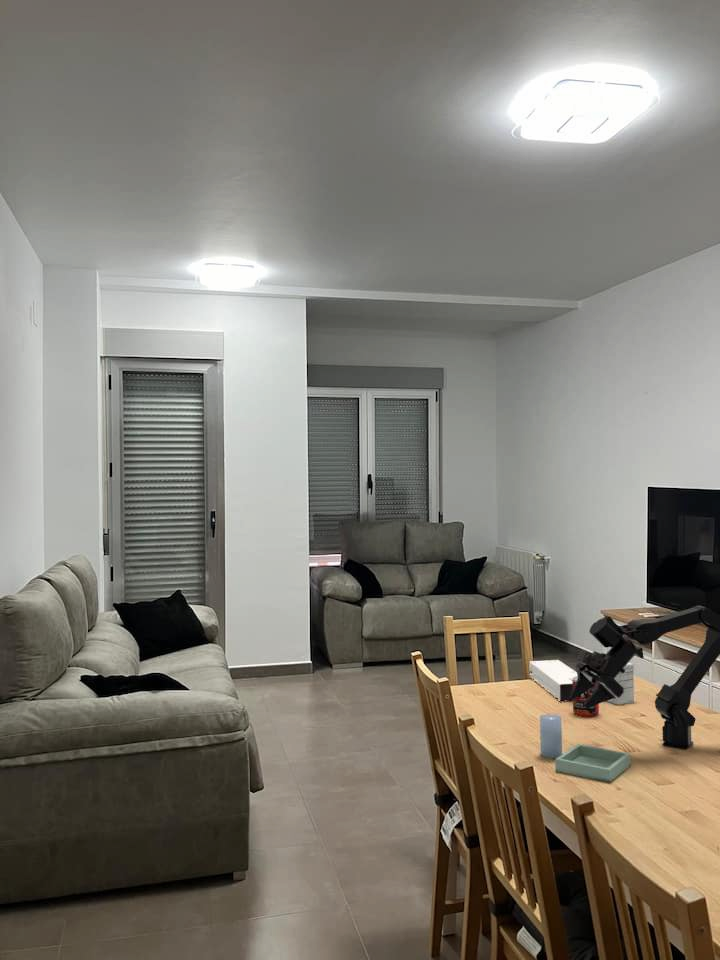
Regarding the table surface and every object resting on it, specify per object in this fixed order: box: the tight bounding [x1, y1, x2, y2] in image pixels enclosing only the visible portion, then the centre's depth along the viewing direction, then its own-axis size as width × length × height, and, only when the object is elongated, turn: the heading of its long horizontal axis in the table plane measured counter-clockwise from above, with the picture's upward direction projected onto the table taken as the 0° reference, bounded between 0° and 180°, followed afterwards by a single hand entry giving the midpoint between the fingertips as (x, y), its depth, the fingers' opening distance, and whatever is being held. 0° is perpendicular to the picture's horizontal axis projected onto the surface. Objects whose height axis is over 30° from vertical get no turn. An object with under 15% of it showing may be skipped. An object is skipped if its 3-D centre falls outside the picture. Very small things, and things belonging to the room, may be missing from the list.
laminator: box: [528, 659, 577, 702], centre depth 289 cm, size 34×12×6 cm, turn 5°
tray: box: [554, 743, 631, 783], centre depth 211 cm, size 14×14×3 cm
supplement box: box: [606, 662, 635, 706], centre depth 271 cm, size 7×7×13 cm
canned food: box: [572, 676, 600, 718], centre depth 258 cm, size 8×8×11 cm
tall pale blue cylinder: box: [539, 713, 563, 759], centre depth 222 cm, size 6×6×10 cm
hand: (578, 702), depth 223 cm, fingers open, 9 cm apart
